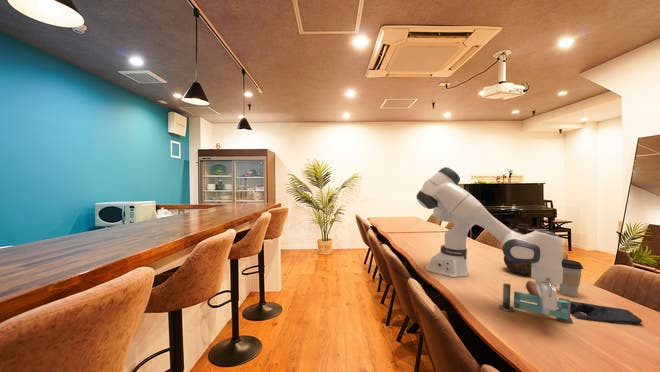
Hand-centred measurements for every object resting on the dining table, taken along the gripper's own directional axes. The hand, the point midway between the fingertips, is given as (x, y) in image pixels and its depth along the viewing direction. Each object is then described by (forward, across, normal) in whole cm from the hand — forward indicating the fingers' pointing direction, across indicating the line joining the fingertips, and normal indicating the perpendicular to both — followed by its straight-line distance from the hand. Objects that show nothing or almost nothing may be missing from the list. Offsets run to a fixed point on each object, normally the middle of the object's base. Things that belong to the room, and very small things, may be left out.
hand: (545, 312), depth 96 cm
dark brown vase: (+4, +60, +4) cm, 60 cm away
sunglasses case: (+4, +28, -2) cm, 29 cm away
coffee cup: (+4, +38, -12) cm, 40 cm away
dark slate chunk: (+4, +20, -18) cm, 27 cm away
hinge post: (+4, +4, +12) cm, 13 cm away
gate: (+2, +4, +1) cm, 5 cm away
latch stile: (+4, +7, -6) cm, 10 cm away
